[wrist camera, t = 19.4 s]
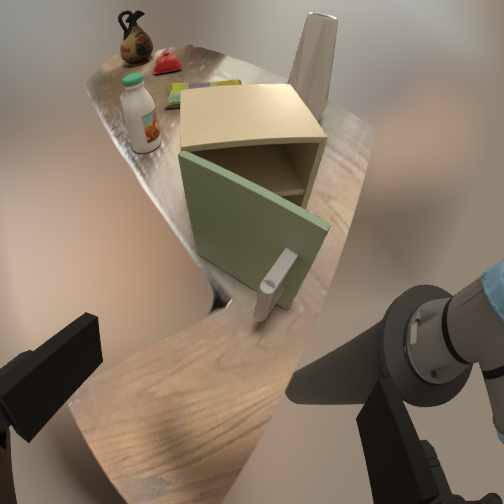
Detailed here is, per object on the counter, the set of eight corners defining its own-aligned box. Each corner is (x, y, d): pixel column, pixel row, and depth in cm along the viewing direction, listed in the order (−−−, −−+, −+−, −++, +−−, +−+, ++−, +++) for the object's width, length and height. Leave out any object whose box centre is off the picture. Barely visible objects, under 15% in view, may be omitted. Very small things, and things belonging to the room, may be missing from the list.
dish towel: (172, 87, 80) (172, 81, 78) (242, 83, 82) (243, 77, 80) (164, 111, 71) (163, 103, 69) (246, 106, 73) (246, 98, 71)
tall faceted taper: (271, 120, 70) (285, 9, 42) (294, 107, 75) (311, 9, 46) (308, 139, 66) (334, 21, 38) (329, 124, 71) (355, 22, 43)
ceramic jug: (147, 55, 103) (141, 5, 77) (159, 60, 97) (154, 4, 71) (116, 66, 97) (107, 15, 71) (125, 72, 91) (116, 15, 65)
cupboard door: (267, 340, 40) (297, 280, 21) (175, 278, 44) (139, 185, 26) (290, 305, 43) (331, 224, 25) (200, 249, 48) (183, 149, 29)
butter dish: (154, 68, 92) (152, 51, 84) (181, 63, 94) (179, 46, 86) (153, 76, 86) (151, 58, 79) (182, 71, 88) (181, 53, 81)
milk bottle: (139, 158, 60) (121, 87, 42) (128, 145, 62) (111, 79, 45) (166, 144, 62) (155, 73, 45) (154, 132, 65) (142, 67, 48)
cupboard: (297, 234, 50) (328, 136, 32) (198, 248, 48) (180, 147, 29) (275, 174, 58) (290, 84, 39) (192, 183, 56) (180, 90, 37)
